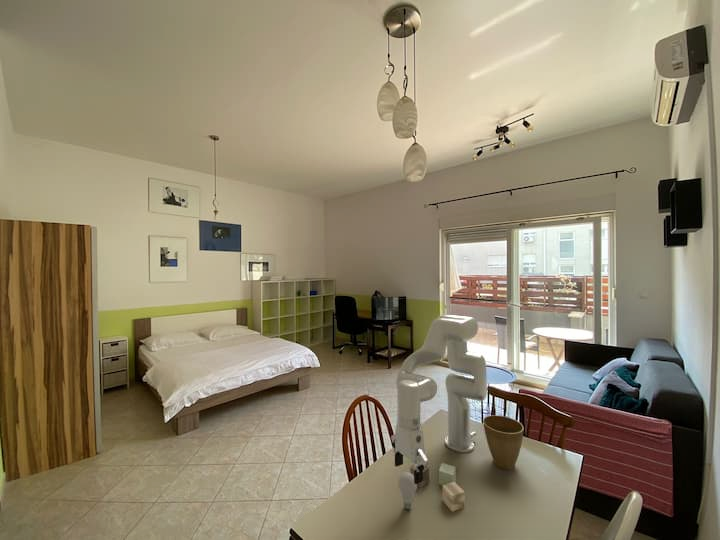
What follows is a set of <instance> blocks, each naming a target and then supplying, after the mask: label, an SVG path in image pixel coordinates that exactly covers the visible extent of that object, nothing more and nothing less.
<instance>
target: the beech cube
mask: <svg viewBox="0 0 720 540" xmlns="http://www.w3.org/2000/svg"><path fill="white" fill-rule="evenodd" d="M441 486H442V485H441ZM441 490H442V491H441V492H442V502H443V503H444V505H446V506H447V507H448V509H449V510H450V511H451V512H454V511H457V510H460V509H464V508H465V506H466V505H465V491H464V490H463V489H462V488H461V486H459V485H458V484H457V483H456V481H455V482H452V483H449V484H446V485H443V486H442V489H441Z"/></svg>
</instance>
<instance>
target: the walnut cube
mask: <svg viewBox="0 0 720 540" xmlns="http://www.w3.org/2000/svg"><path fill="white" fill-rule="evenodd" d="M417 465H418V466H420V464H419V461H417ZM409 468H410V471H409V473H411V474H412V475H413V476H414V471H415V467H414V464H412V465H411V466H410V467H409ZM429 481H430V466H428V465H427V468H425V469H424V470H423V481H422V482H420V483H418V484H417V486H419V487H421V488H423V487H424V486H426V484H427V483H429Z"/></svg>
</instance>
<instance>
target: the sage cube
mask: <svg viewBox="0 0 720 540" xmlns="http://www.w3.org/2000/svg"><path fill="white" fill-rule="evenodd" d="M456 469H457V468H456V466H453V465H450V464H447V463H444V462H442V463H441V464H440V467H439V469H438V485H440V486H443V485H446V484H449V483H452V482H455V483H456V481H457V479H456V477H457V472H456V471H457V470H456Z"/></svg>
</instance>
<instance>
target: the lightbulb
mask: <svg viewBox="0 0 720 540" xmlns="http://www.w3.org/2000/svg"><path fill="white" fill-rule="evenodd" d="M397 481H398V483H397V485H398V488H399V491H400V492H401V494H402V500H403V507H404V509H406V510H411V509H412V505H413V498H414V495H415V493H416V491H417V488H418V485H417V484H415V483H414V476H413V475H412V474H411V473H410V472H406V471H405V472H403V473H402V474H400V476H399V478H398V480H397Z"/></svg>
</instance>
